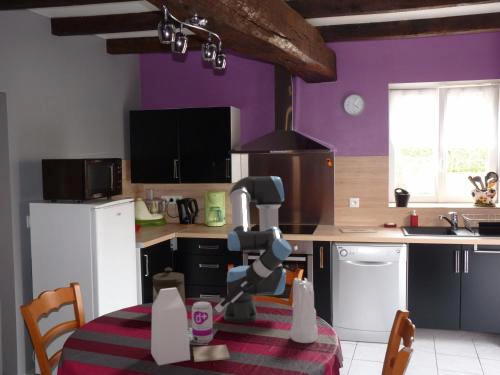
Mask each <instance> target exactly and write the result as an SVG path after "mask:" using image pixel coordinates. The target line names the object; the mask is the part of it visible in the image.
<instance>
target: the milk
mask: <svg viewBox="0 0 500 375" xmlns="http://www.w3.org/2000/svg"><path fill="white" fill-rule="evenodd" d="M188 325H189V324H188V314H187V308H186V305H185V306H184V303H183V301H182V299H181V297H180V294H179V292H178V290H177V288H168V289H160V292H159V294H158V297H157V298H156V300H155V302H154V303H152V306H151V334H150V335H151V340H150V341H151V343H150V344H151V345H150V346H151V347H150V348H151V350H150V354H151V355H152V357H153V359H154V361H155V362H156V364H157V366H163V365H169V364H173V363H179V362H184V361H191V351H190V339H189V326H188Z"/></svg>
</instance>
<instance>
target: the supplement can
mask: <svg viewBox="0 0 500 375" xmlns="http://www.w3.org/2000/svg"><path fill="white" fill-rule="evenodd" d="M213 325H214V324H213V306H212V305H211V302H209V301H195V302H194V303H193V305H192V307H191V328H192V329H191V330H192V335H191V336H192V341H194V342H195V343H196V342H197V343H198V344H206V343H210V342H211V341H212V340H213V339H214V337H213V335H214V334H213V332H214V330H213V329H214V328H213Z"/></svg>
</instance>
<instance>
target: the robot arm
mask: <svg viewBox="0 0 500 375" xmlns="http://www.w3.org/2000/svg"><path fill="white" fill-rule="evenodd" d="M283 185H284V184H283V182H282V178H281V177H279V176H275V175H273V176H272V175H270V176H267V175H265V176H246V177H243V178H240V179H239V180H237V182H235V183H234V185H233V186H232V187H231V189H230V190H229V196H228V197H229V199H228V200H229V202H230V204H231V231H228V232H227V249H228V250H229V251H231V252H232V251H233V252H234V251H235V252H236V251H237V252H240V251H241V252H243V251H244V252H245V251H259V254H260V255H259V256H256V257H255V261H254V262H253V263H251V264H250V265H239V266H236V267H233V268H232V267H231V268H230V269H229V270H228V271H227V273H226V274H227V276H226V277H227V278H226V283H227V286H226V288H227V290H226V291H227V295H225V294H224V295H223V299H222V300H221V301H220V302H219V303H218V304H216V305H215V306H214V309H215V311H216V312H217V313H218V314H220V313H221V312H222V311H223V310H224V313H223V318H224V321H226V322H229V323H235V324H247V323H251V322H253V321H256V320H257V319H258V312H257V309H256V306H255V303H254V296H277V295H278V296H279V295H282V294H283V293H284V291H285V288H286V281H287V270H286V268H284V267H283V264H282V263H283V262H284V261H285V260H287V258H288V257H289V256H290V254H292V252H293V249H292V248H293V247H292V246H291V245H290V243H289V242H288V241H287V240H286V239H284V237H283V236H284V235H283V232H282V231H281V230H280V228H279V208H280V207H281V206H282V202H284V201H285V192H284V186H283ZM251 202H252V203H255V207H256V208H257V209H258V212H259V214H258V216H259V230H258V231H257V230H255V231H253V230H252V231H251V217H250V216H251V215H250V203H251Z"/></svg>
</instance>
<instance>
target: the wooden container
mask: <svg viewBox="0 0 500 375" xmlns="http://www.w3.org/2000/svg"><path fill="white" fill-rule="evenodd" d="M172 271H173V268H171V267H169V266H167V267H165V268H164V272H161V273H160V272H159V273H156V274H154V275H153V276H152V300H153V303H154V302H155V300H156V298H157V297H158V294H159V292H160V289H168V288H177V290H178V292H179V294H180V297H181V299H182V301H183V303H184V306H185V307H186V295H185V294H186V293H185V292H186V291H185V274H183V273H181V272H174V271H173V272H172ZM153 303H152V304H153Z"/></svg>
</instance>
